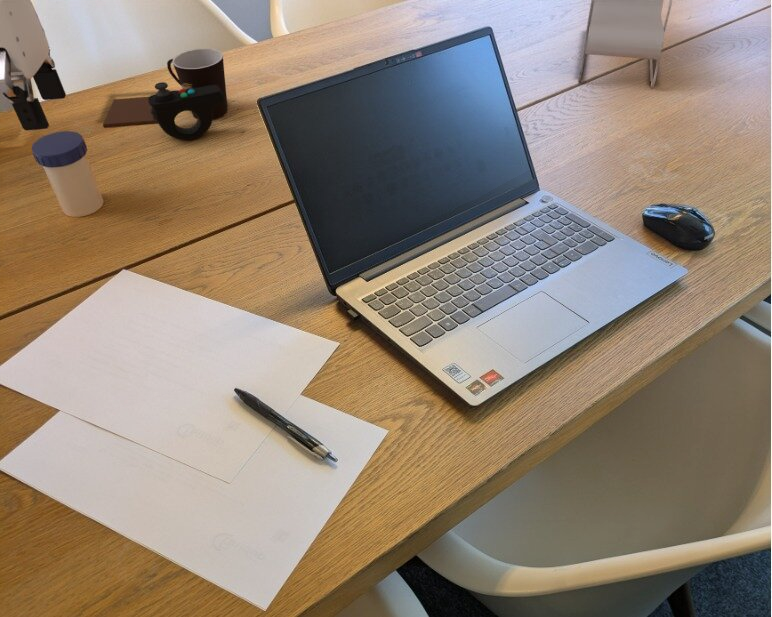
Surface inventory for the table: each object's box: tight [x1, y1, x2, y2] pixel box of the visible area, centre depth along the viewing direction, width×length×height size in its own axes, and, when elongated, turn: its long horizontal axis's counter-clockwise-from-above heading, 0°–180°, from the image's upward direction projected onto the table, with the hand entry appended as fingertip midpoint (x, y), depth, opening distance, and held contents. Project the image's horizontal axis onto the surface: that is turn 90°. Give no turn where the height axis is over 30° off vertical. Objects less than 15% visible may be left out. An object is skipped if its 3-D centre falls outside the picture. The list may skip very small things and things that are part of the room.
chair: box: [577, 0, 673, 89], centre depth 124 cm, size 13×25×20 cm, turn 165°
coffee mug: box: [166, 48, 229, 121], centre depth 118 cm, size 12×9×10 cm
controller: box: [148, 81, 225, 141], centre depth 111 cm, size 4×12×10 cm, turn 111°
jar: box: [42, 153, 105, 218], centre depth 97 cm, size 6×6×10 cm
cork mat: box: [102, 96, 158, 128], centre depth 122 cm, size 10×10×1 cm
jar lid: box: [31, 130, 88, 168], centre depth 93 cm, size 7×7×2 cm
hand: (46, 112), depth 90 cm, fingers open, 8 cm apart
